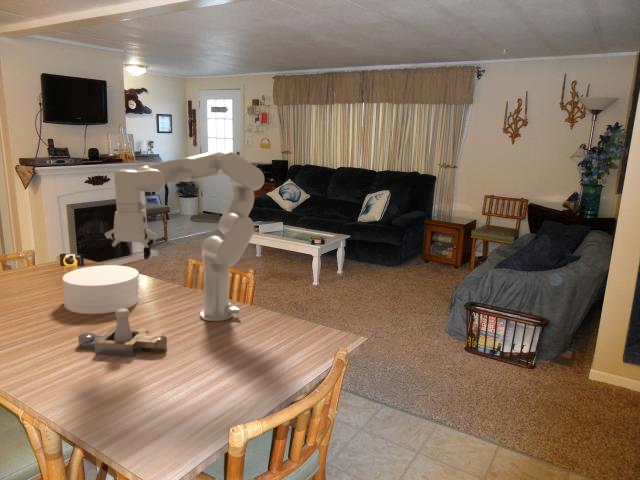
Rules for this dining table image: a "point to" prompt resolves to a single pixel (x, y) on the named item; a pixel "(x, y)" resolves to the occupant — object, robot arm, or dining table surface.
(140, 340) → the upper end link
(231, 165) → the robot arm
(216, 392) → the dining table surface
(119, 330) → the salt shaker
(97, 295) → the plate stack
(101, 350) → the lower end link
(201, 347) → the dining table surface
